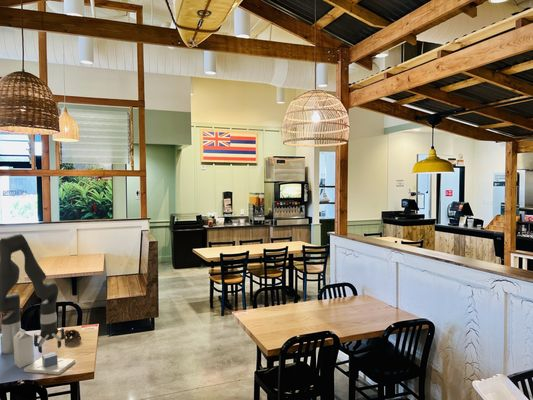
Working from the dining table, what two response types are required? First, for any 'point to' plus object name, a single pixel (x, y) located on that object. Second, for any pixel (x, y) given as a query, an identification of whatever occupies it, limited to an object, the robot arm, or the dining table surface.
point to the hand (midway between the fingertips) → (50, 350)
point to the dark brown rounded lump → (74, 335)
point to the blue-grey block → (49, 359)
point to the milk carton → (23, 348)
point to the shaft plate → (54, 369)
